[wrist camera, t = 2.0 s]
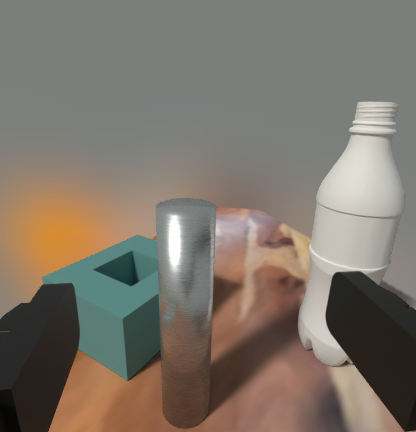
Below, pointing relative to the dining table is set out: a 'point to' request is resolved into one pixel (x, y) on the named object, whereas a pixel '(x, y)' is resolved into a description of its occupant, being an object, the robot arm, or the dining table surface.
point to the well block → (117, 304)
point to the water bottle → (353, 221)
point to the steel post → (185, 306)
